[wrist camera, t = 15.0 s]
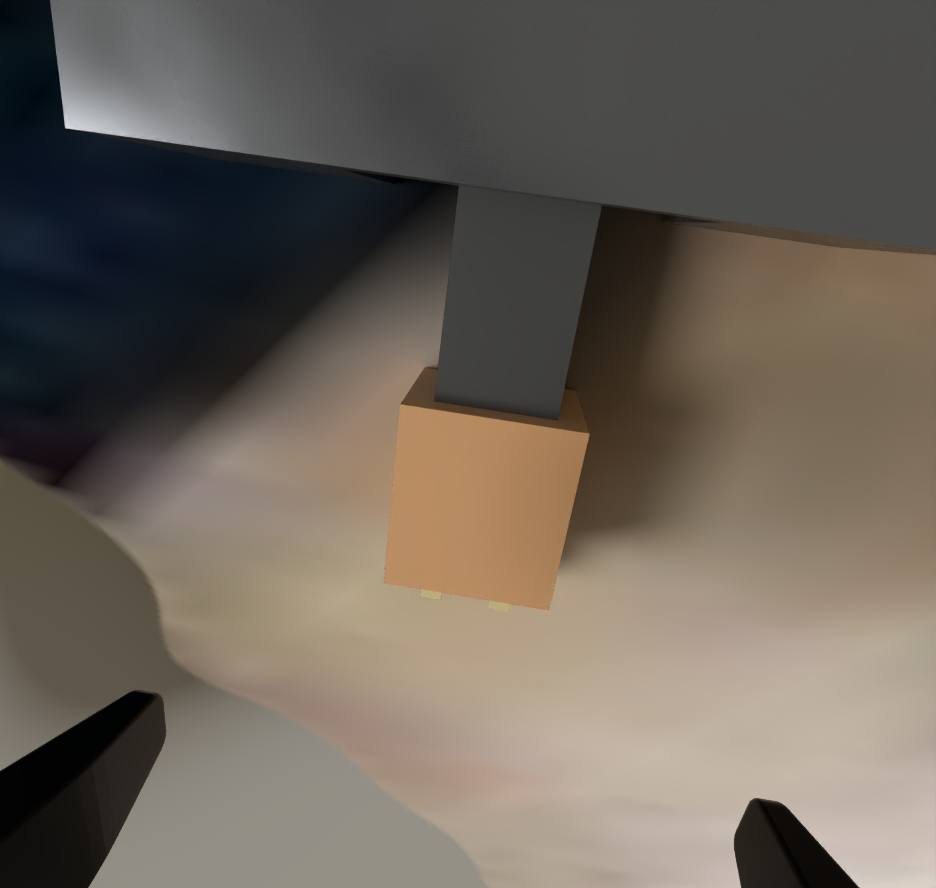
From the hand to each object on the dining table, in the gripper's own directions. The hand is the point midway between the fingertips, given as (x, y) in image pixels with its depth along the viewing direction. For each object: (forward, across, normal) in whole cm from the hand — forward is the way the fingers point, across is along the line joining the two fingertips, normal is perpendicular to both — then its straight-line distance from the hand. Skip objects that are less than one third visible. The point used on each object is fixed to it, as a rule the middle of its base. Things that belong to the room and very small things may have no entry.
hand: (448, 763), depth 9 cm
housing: (+10, 0, -11) cm, 14 cm away
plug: (+10, 0, -7) cm, 12 cm away
